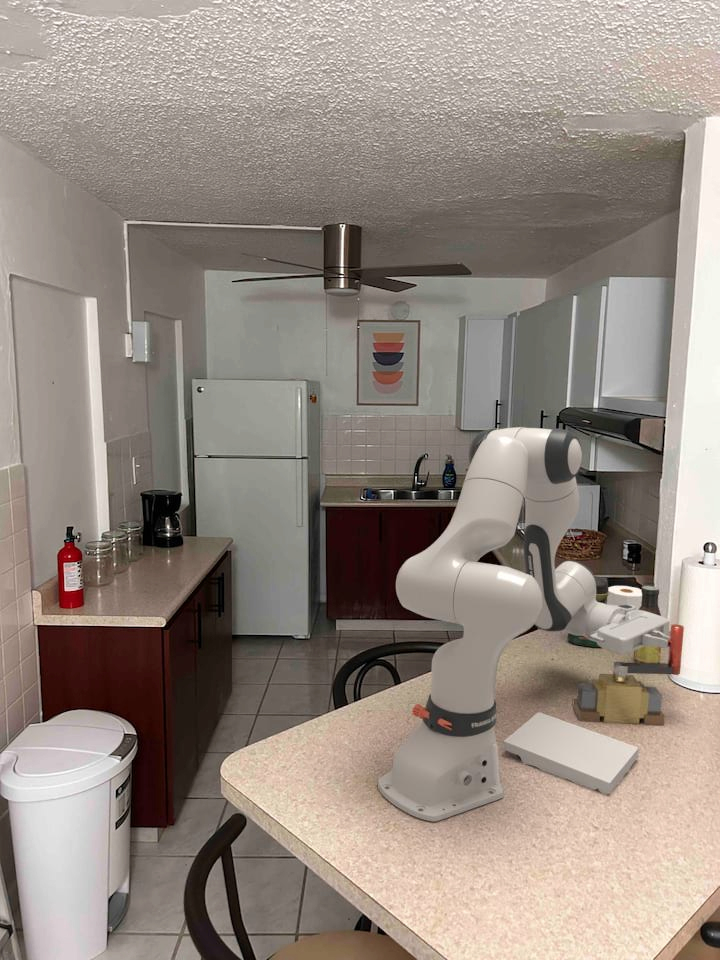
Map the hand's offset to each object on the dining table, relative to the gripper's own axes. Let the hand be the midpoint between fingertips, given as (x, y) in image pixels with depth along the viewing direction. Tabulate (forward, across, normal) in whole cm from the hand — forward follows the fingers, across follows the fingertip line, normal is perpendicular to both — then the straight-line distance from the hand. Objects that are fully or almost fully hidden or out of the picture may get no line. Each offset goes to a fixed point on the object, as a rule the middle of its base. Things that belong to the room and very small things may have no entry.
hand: (670, 643), depth 147 cm
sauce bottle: (-16, +23, +16) cm, 32 cm away
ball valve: (-6, -8, +16) cm, 19 cm away
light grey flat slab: (-3, -31, +17) cm, 35 cm away
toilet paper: (-32, +41, +16) cm, 54 cm away
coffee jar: (-34, +25, +16) cm, 45 cm away
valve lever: (-3, -4, +8) cm, 9 cm away
